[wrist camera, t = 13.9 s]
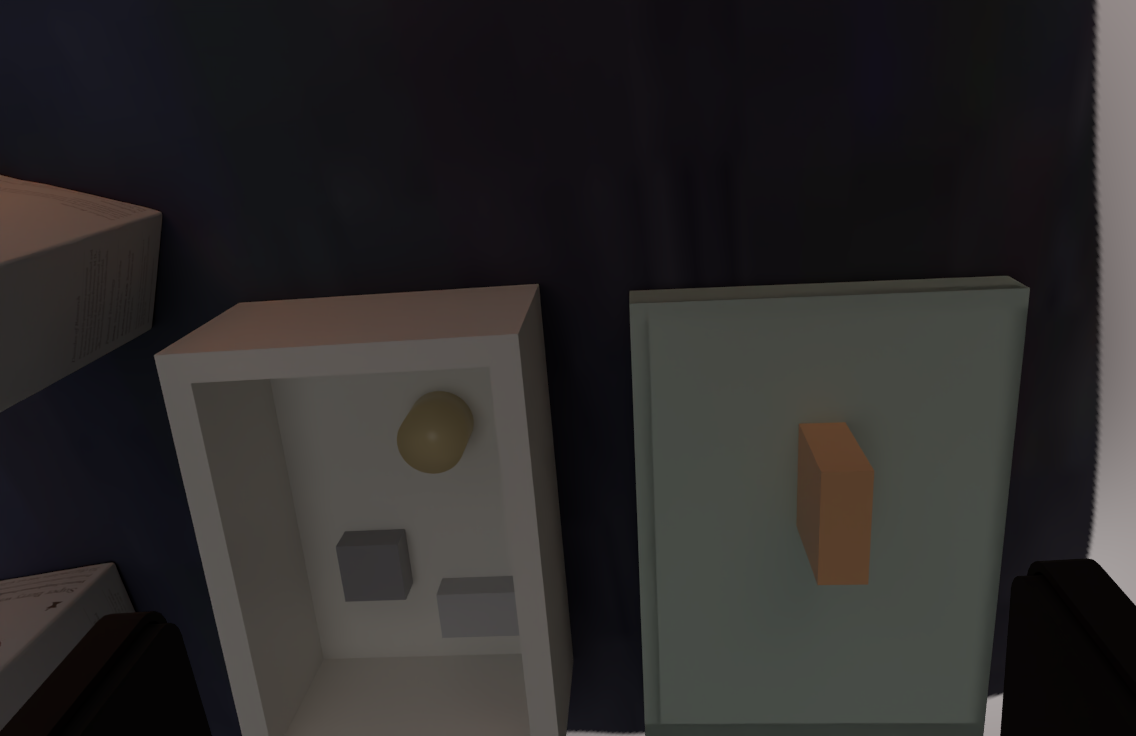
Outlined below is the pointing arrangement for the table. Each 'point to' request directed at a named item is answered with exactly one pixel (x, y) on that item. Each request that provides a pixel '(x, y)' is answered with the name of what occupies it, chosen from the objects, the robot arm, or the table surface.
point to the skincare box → (69, 281)
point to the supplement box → (50, 624)
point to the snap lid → (823, 503)
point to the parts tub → (378, 511)
